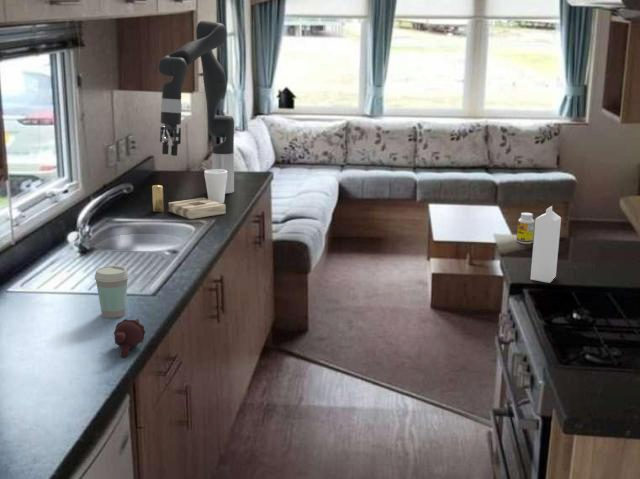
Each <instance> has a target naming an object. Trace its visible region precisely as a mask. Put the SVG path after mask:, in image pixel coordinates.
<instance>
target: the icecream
mask: <svg viewBox="0 0 640 479" xmlns="http://www.w3.org/2000/svg"><path fill="white" fill-rule="evenodd" d="M113 334H114V344H116V345H117V346H118V347H120V348H121V350H120V356H121V358H126V357H128V355H129V354H130V350H131V349H133V348H136V347H137V346H138V345H139V344H141V343H142V342H144V338H145V334H146V331H145V326H144V325H143V324H141V322H140V319H139V318H136V319H127V318H125V319H123V320H122V321H120V322H118V323H117V324H116V326H115V328H114V331H113Z"/></svg>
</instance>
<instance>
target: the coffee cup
mask: <svg viewBox="0 0 640 479" xmlns="http://www.w3.org/2000/svg"><path fill="white" fill-rule="evenodd" d="M129 277H130V276H129V272H128V271H127V268H126V267H124V266H122V265H121V266H120V265H109V266H108V265H107V266H102V267H99V268H97V269H96V270H95V274H94V280H95V282H96V288H97V293H98V300H99V305H100V311H101V315H102V317H104V318H106V319H117V318H121V317H123V316H124V315H126V309H127V308H126V307H127V306H126V305H127V294H128V280H129V279H128V278H129Z"/></svg>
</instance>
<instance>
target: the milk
mask: <svg viewBox="0 0 640 479" xmlns="http://www.w3.org/2000/svg"><path fill="white" fill-rule="evenodd" d="M534 221H535V223H534V235H533V242H532V255H531V268H530V278H529V279H530V280H531V281H538V282H543V283H549V284H551V282H552V281H554V280H555V279H556V278H555V277H557V267H558V255H559V248H560V246H559V245H560V235H561V224H562V217H561V216H560V215H558V214H557V213H556V212H554V210H553V205H551V206H549V207H548V208H546V209H545V213H542V214H541V215H539V216H537V217H536V218H535V219H534ZM554 278H555V279H554ZM553 279H554V280H553Z"/></svg>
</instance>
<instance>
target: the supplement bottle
mask: <svg viewBox="0 0 640 479" xmlns="http://www.w3.org/2000/svg"><path fill="white" fill-rule="evenodd" d="M533 218H534V213H531V212H521V214H520V218H519V219H518V221H517V231H516V232H517V233H516V242H518V243H519V244H522V245H523V244H524V245H530V244H533V243H534V231H535V219H533Z"/></svg>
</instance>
